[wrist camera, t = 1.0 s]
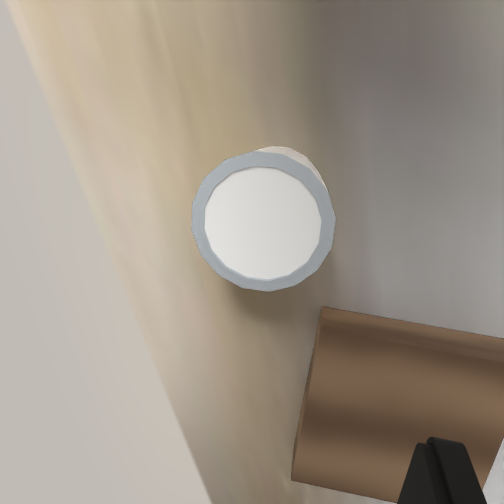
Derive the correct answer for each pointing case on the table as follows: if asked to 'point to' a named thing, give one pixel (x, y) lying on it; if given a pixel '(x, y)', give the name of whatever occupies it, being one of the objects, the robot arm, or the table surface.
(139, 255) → the table surface
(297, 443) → the walnut plinth
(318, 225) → the white cup
